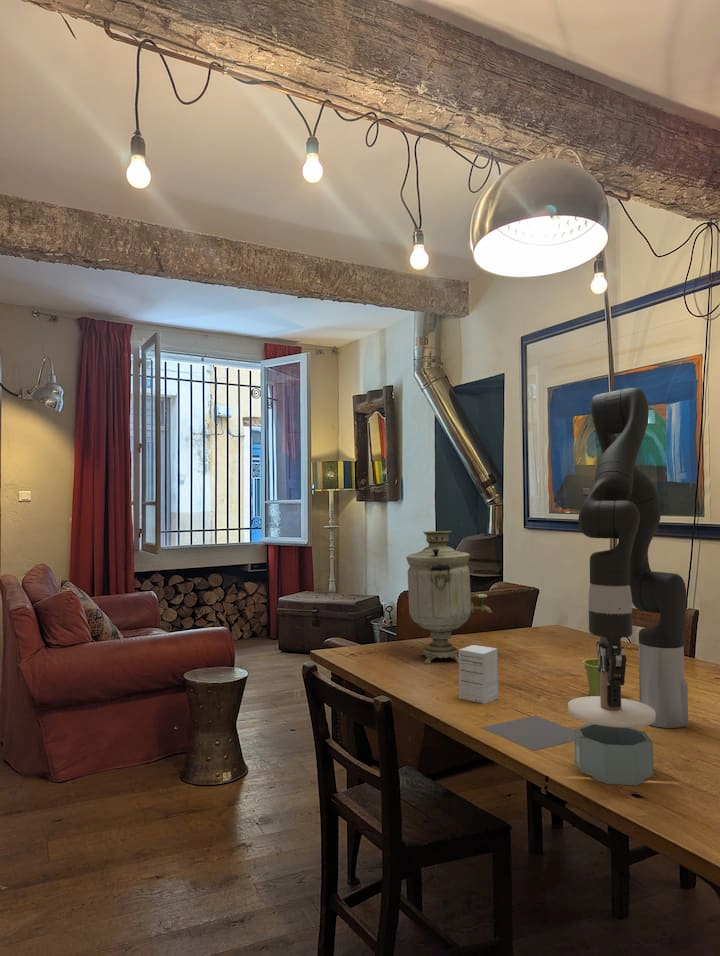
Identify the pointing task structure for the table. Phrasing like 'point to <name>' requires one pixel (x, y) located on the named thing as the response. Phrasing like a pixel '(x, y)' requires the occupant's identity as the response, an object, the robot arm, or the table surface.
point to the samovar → (440, 593)
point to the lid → (611, 710)
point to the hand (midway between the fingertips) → (611, 702)
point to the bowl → (614, 754)
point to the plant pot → (593, 676)
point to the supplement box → (478, 674)
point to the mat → (533, 732)
